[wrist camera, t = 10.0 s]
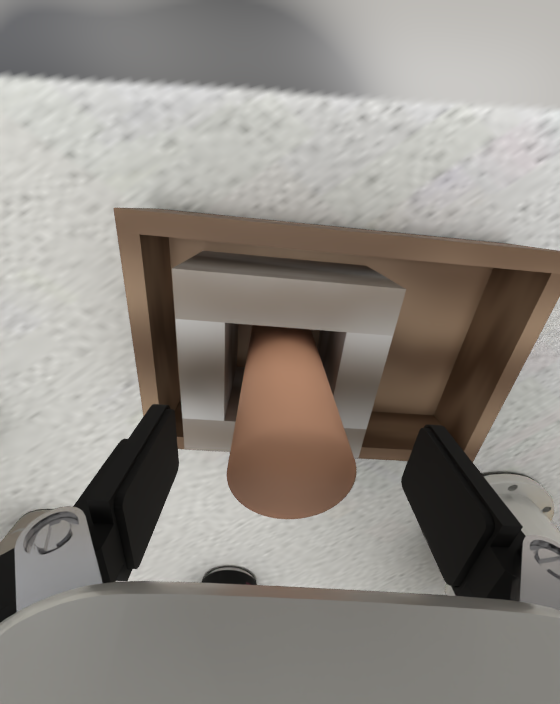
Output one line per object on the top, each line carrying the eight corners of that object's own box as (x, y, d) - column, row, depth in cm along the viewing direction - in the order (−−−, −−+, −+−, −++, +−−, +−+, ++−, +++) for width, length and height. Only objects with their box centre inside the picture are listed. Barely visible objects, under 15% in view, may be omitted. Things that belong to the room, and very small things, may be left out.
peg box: (435, 418, 25) (491, 489, 18) (172, 401, 23) (134, 472, 17) (506, 243, 18) (627, 260, 12) (155, 208, 17) (86, 207, 11)
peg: (306, 360, 21) (344, 520, 10) (250, 357, 20) (226, 517, 10) (313, 306, 19) (369, 429, 8) (252, 302, 19) (226, 422, 8)
